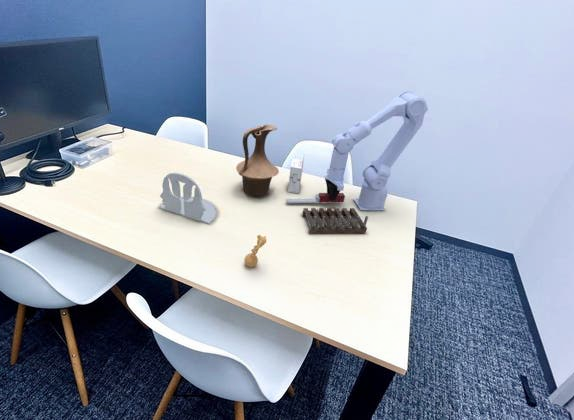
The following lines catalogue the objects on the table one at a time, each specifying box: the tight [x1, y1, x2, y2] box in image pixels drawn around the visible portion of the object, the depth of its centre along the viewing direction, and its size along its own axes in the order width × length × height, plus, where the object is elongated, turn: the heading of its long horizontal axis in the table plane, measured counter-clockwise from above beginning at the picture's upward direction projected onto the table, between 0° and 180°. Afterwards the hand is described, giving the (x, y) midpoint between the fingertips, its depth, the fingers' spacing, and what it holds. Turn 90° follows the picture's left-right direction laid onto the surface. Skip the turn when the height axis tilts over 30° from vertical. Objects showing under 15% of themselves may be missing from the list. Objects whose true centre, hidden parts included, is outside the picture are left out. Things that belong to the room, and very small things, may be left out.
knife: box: [285, 192, 346, 204], centre depth 131 cm, size 23×3×3 cm, turn 95°
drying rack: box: [301, 207, 369, 235], centre depth 119 cm, size 20×13×7 cm, turn 95°
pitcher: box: [235, 124, 280, 198], centre depth 131 cm, size 18×17×28 cm
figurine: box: [244, 234, 267, 268], centre depth 96 cm, size 8×6×12 cm
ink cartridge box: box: [287, 154, 305, 194], centre depth 139 cm, size 9×5×15 cm, turn 168°
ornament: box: [158, 172, 217, 225], centre depth 121 cm, size 22×13×17 cm, turn 65°
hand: (331, 197), depth 132 cm, fingers closed on knife, 2 cm apart
